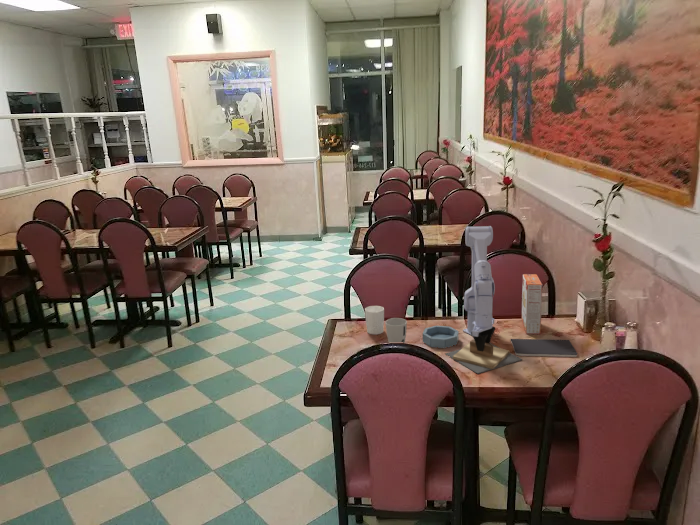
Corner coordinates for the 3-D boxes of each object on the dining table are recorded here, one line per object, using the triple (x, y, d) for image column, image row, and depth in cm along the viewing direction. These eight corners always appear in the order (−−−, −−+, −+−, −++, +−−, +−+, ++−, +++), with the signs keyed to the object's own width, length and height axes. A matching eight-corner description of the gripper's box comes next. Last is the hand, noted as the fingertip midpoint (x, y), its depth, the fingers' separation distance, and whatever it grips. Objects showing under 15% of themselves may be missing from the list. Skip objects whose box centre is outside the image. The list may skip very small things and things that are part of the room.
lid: (471, 343, 192) (471, 331, 191) (509, 353, 183) (509, 340, 182) (452, 358, 181) (452, 345, 180) (492, 369, 172) (493, 355, 171)
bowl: (444, 331, 206) (444, 323, 205) (464, 342, 195) (464, 334, 194) (417, 338, 201) (416, 330, 200) (436, 350, 189) (436, 341, 188)
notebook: (568, 343, 191) (510, 342, 194) (569, 339, 190) (510, 338, 194) (578, 358, 178) (515, 357, 182) (578, 354, 178) (515, 353, 182)
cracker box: (520, 321, 213) (522, 273, 207) (535, 321, 212) (537, 273, 206) (524, 334, 200) (526, 283, 194) (540, 334, 198) (543, 284, 193)
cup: (406, 350, 190) (405, 326, 188) (384, 349, 192) (384, 325, 189) (408, 342, 198) (407, 318, 195) (387, 341, 200) (386, 317, 197)
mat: (487, 342, 194) (487, 341, 194) (522, 360, 178) (522, 359, 178) (445, 354, 185) (445, 353, 185) (477, 374, 170) (477, 373, 170)
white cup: (388, 329, 211) (387, 307, 208) (378, 336, 204) (378, 313, 202) (371, 326, 215) (371, 304, 212) (362, 333, 209) (361, 310, 206)
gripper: (481, 304, 185) (481, 338, 189) (464, 317, 174) (463, 353, 178) (500, 308, 181) (499, 343, 184) (483, 320, 170) (482, 357, 174)
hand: (483, 348), depth 181 cm, fingers open, 4 cm apart
